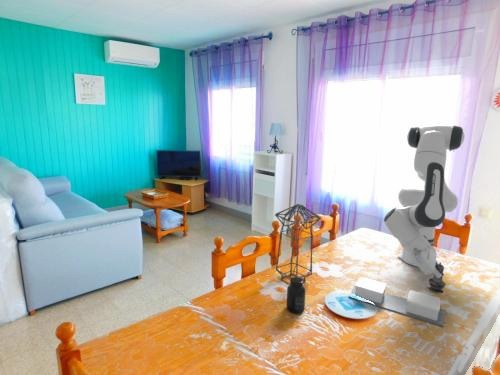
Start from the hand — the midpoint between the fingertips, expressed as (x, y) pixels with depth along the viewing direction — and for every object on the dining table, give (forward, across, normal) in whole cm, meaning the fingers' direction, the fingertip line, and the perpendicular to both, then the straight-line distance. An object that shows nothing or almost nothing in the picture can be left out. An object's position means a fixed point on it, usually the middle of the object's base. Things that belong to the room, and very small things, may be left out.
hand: (440, 274), depth 123 cm
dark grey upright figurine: (+5, 0, +6) cm, 7 cm away
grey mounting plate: (-1, -11, +18) cm, 21 cm away
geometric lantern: (-30, -16, +47) cm, 58 cm away
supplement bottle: (-23, -37, +40) cm, 59 cm away
